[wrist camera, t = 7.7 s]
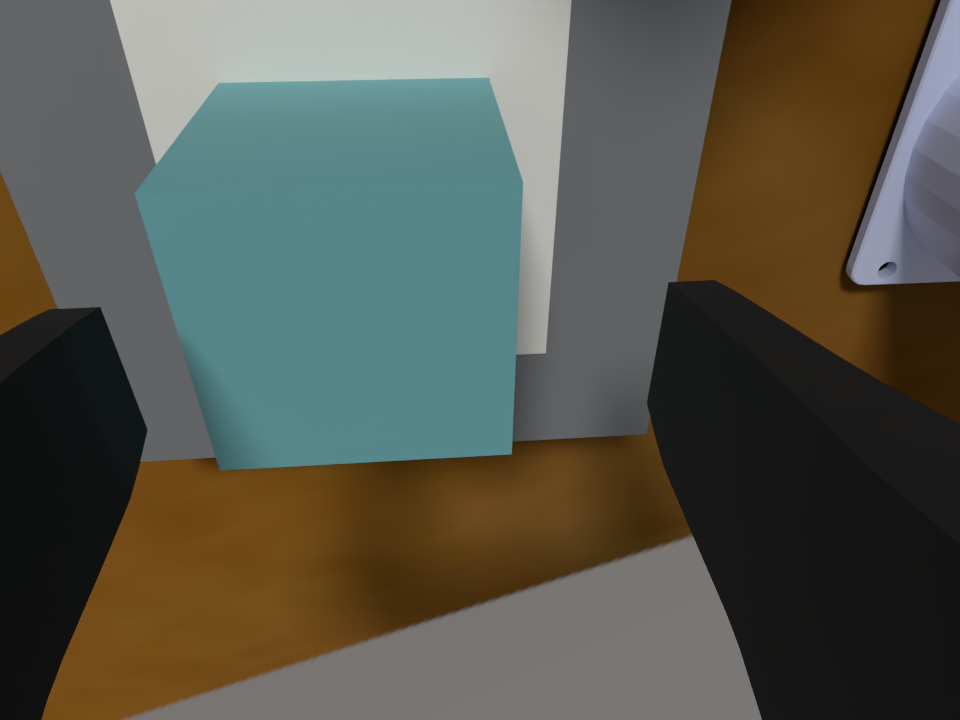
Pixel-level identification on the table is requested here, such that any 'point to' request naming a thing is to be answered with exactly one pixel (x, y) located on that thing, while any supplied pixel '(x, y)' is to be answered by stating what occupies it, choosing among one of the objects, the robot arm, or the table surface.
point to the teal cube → (343, 269)
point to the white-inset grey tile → (379, 56)
